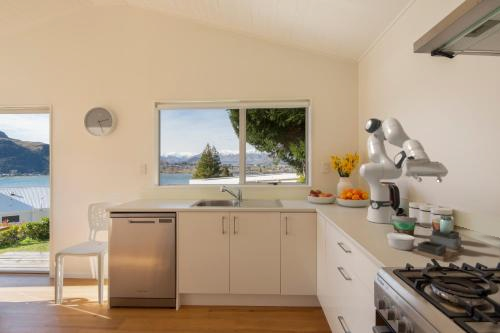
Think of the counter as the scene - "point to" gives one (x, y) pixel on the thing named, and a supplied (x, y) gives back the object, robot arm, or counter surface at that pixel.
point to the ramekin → (400, 241)
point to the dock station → (440, 245)
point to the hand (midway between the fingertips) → (430, 181)
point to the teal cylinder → (445, 224)
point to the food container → (404, 225)
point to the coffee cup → (437, 222)
